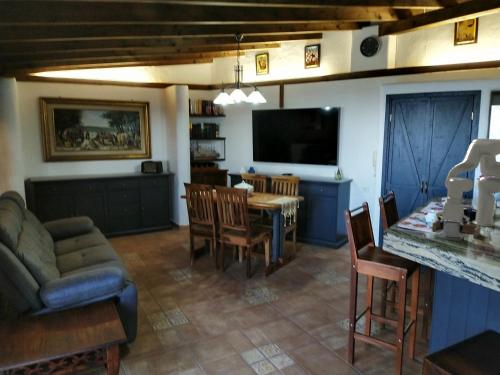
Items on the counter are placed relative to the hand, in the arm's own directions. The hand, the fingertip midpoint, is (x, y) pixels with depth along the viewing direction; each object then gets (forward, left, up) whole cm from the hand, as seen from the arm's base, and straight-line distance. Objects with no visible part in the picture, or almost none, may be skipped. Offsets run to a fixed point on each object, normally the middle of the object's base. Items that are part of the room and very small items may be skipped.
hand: (451, 230), depth 218 cm
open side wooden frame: (-12, 0, -4) cm, 13 cm away
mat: (0, 0, -4) cm, 4 cm away
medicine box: (0, 0, -4) cm, 4 cm away
